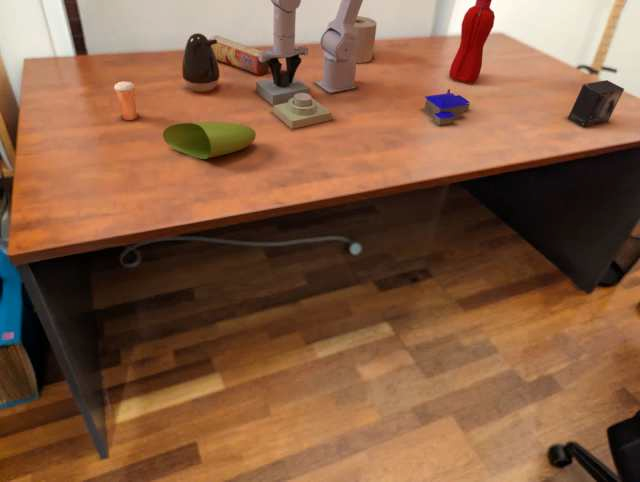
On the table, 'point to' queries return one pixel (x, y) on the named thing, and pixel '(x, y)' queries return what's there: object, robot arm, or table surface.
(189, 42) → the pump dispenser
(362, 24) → the toilet paper roll
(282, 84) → the lock dial
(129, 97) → the milkshake
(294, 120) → the button base
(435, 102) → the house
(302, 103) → the button
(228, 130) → the green scoop
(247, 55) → the snack package
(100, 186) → the table surface
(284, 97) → the dial panel
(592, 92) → the small box
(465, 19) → the water bottle
